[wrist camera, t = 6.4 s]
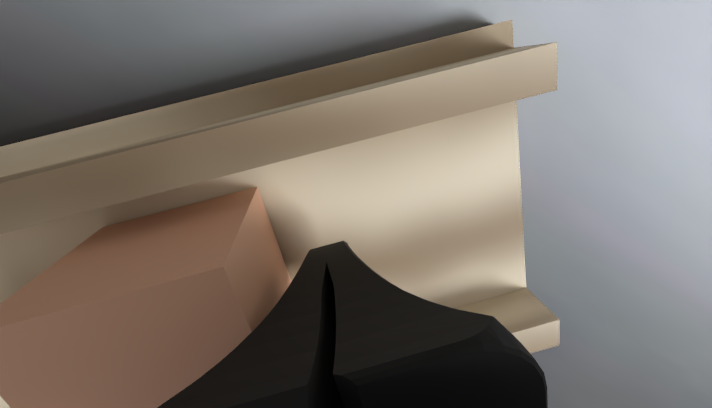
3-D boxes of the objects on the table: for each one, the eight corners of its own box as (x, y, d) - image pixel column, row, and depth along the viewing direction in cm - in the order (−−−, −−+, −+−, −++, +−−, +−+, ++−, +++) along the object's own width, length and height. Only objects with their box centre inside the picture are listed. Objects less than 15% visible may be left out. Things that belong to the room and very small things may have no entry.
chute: (515, 310, 16) (565, 367, 13) (-16, 463, 15) (-100, 564, 12) (495, 24, 11) (564, 5, 8) (-264, 212, 10) (-502, 270, 7)
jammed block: (308, 329, 13) (310, 466, 9) (180, 366, 13) (112, 525, 8) (257, 186, 11) (223, 266, 6) (102, 227, 11) (-48, 339, 6)
